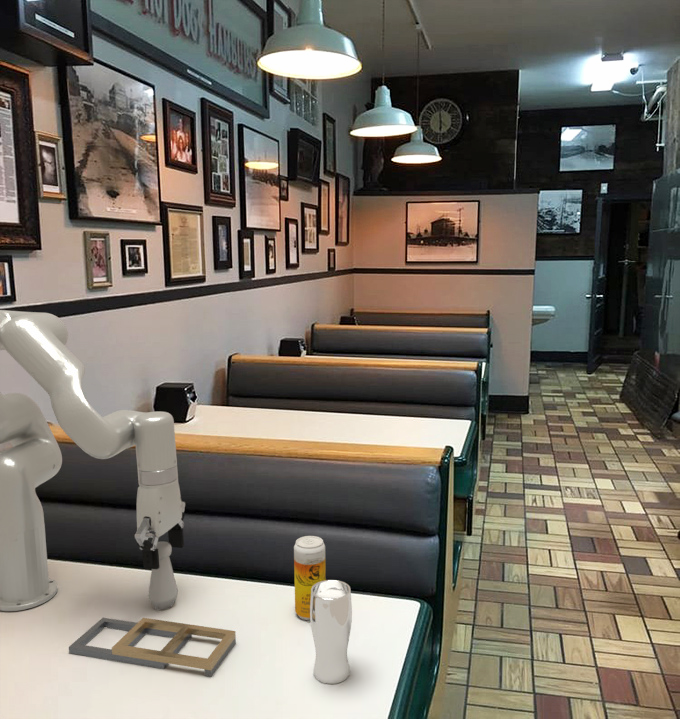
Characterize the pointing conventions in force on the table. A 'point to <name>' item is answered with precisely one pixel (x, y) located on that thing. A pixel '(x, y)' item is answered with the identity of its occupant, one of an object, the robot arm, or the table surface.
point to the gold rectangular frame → (167, 652)
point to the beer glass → (331, 629)
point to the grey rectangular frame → (103, 653)
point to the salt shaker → (163, 580)
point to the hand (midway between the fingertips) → (164, 557)
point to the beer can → (307, 571)
